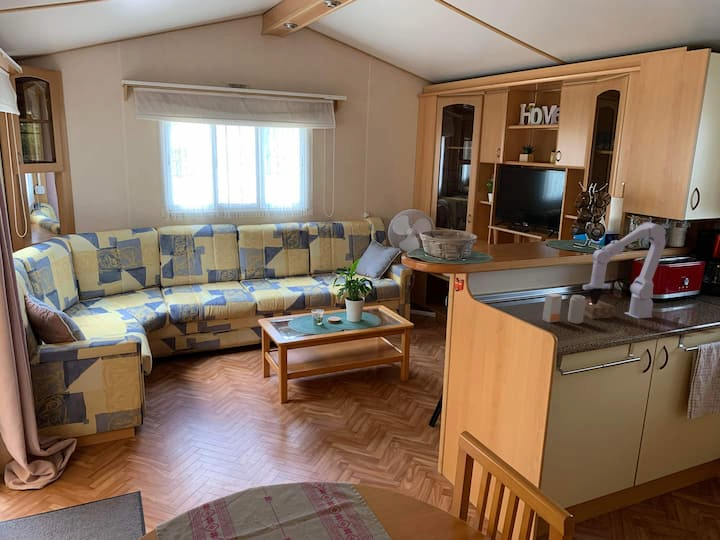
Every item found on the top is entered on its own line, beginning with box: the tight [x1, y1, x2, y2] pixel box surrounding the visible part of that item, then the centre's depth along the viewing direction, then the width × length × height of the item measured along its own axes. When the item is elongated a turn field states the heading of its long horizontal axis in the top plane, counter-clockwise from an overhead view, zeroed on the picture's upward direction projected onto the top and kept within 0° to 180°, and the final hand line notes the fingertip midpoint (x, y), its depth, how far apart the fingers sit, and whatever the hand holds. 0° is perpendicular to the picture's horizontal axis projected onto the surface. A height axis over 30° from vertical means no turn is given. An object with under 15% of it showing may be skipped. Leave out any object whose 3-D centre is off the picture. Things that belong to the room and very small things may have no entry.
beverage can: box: [567, 294, 587, 325], centre depth 245 cm, size 6×6×12 cm
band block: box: [584, 298, 616, 320], centre depth 260 cm, size 13×13×5 cm
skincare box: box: [541, 293, 563, 323], centre depth 245 cm, size 6×4×12 cm
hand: (594, 303), depth 260 cm, fingers closed, pressing on peg
